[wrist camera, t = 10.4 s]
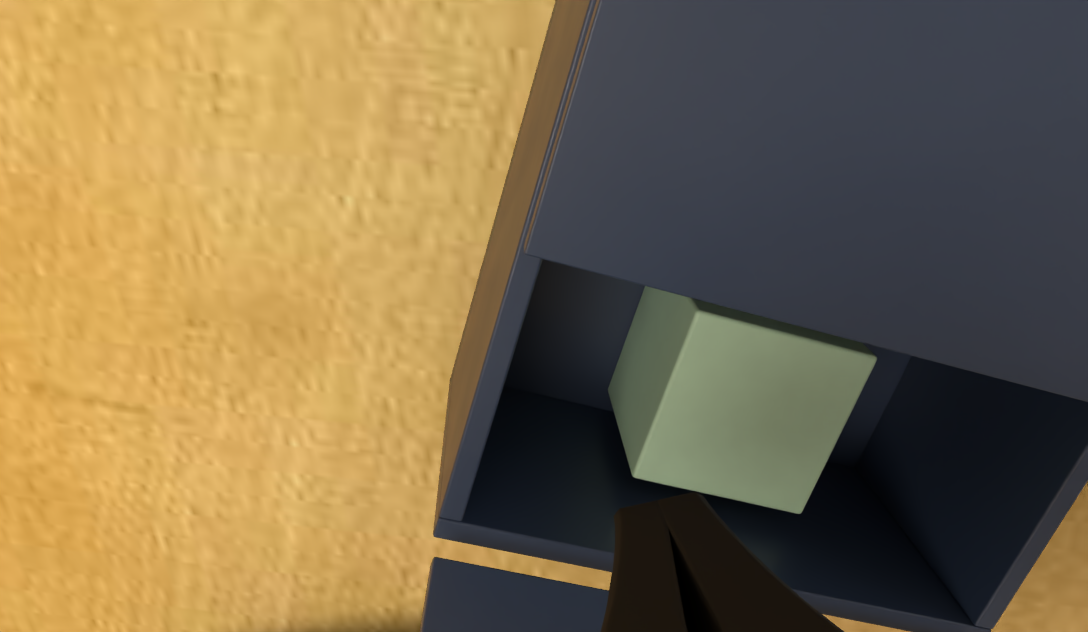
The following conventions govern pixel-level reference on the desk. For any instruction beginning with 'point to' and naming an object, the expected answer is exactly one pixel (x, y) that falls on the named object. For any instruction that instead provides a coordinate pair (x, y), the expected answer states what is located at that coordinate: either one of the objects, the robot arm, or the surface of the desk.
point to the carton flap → (506, 601)
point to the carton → (799, 281)
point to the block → (732, 400)
